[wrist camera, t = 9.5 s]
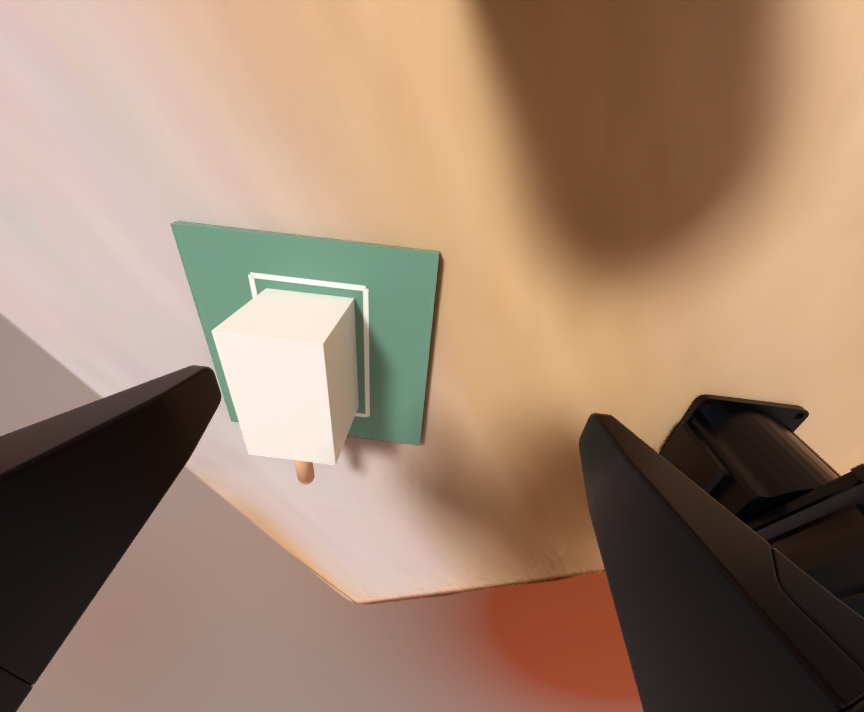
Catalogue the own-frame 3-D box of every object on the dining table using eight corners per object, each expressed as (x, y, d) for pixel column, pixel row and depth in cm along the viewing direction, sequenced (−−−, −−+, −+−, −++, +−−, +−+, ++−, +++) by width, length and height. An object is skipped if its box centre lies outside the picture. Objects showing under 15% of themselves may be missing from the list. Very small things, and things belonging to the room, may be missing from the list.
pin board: (439, 251, 18) (435, 269, 16) (420, 439, 26) (415, 470, 23) (178, 221, 18) (136, 234, 16) (235, 415, 26) (213, 443, 24)
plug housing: (354, 298, 19) (323, 344, 15) (360, 442, 26) (339, 502, 21) (266, 288, 20) (211, 330, 15) (293, 433, 26) (260, 492, 22)
